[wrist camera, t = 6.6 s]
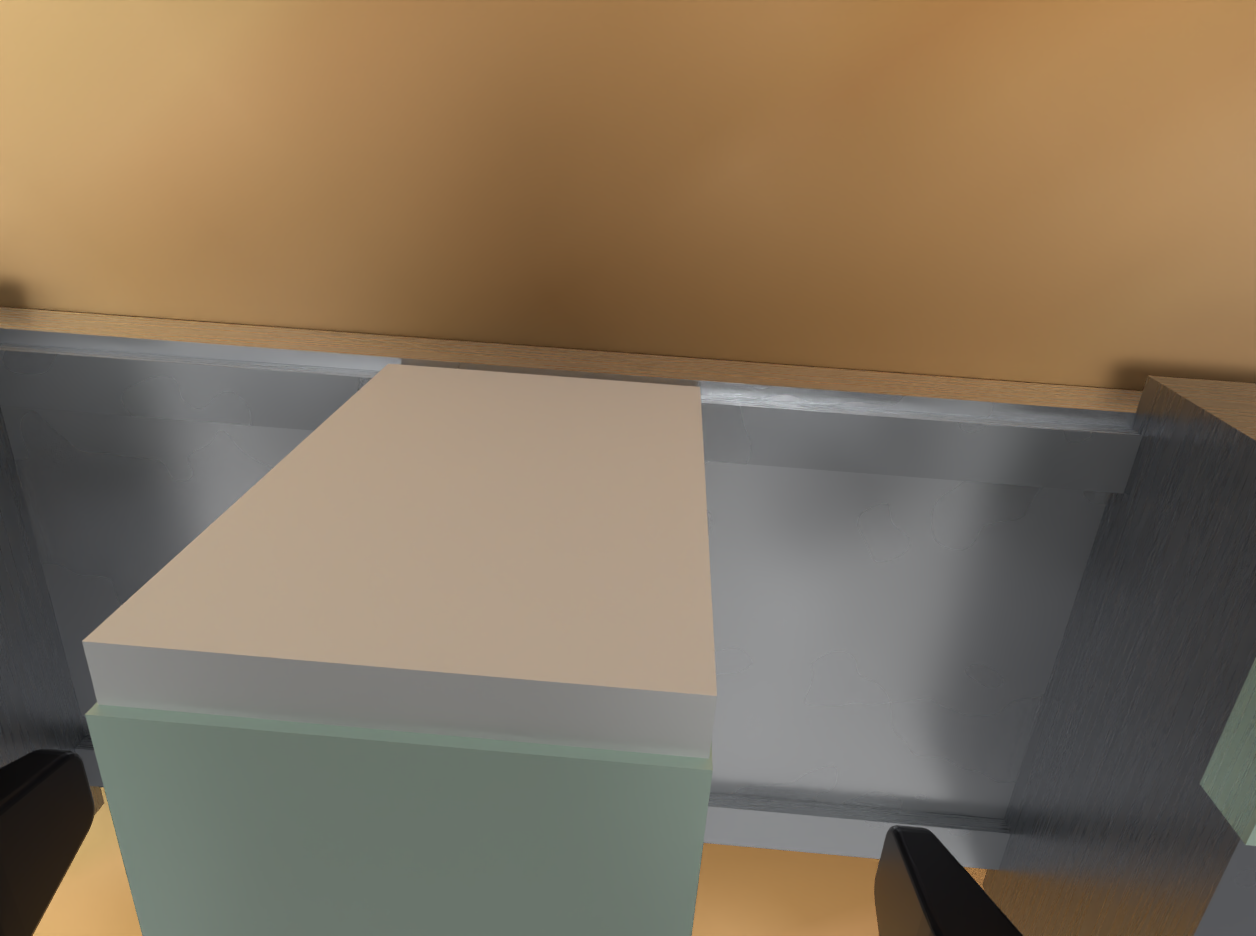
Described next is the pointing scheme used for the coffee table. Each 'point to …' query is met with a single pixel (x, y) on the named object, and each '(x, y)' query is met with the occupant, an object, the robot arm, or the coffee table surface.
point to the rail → (773, 589)
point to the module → (428, 675)
